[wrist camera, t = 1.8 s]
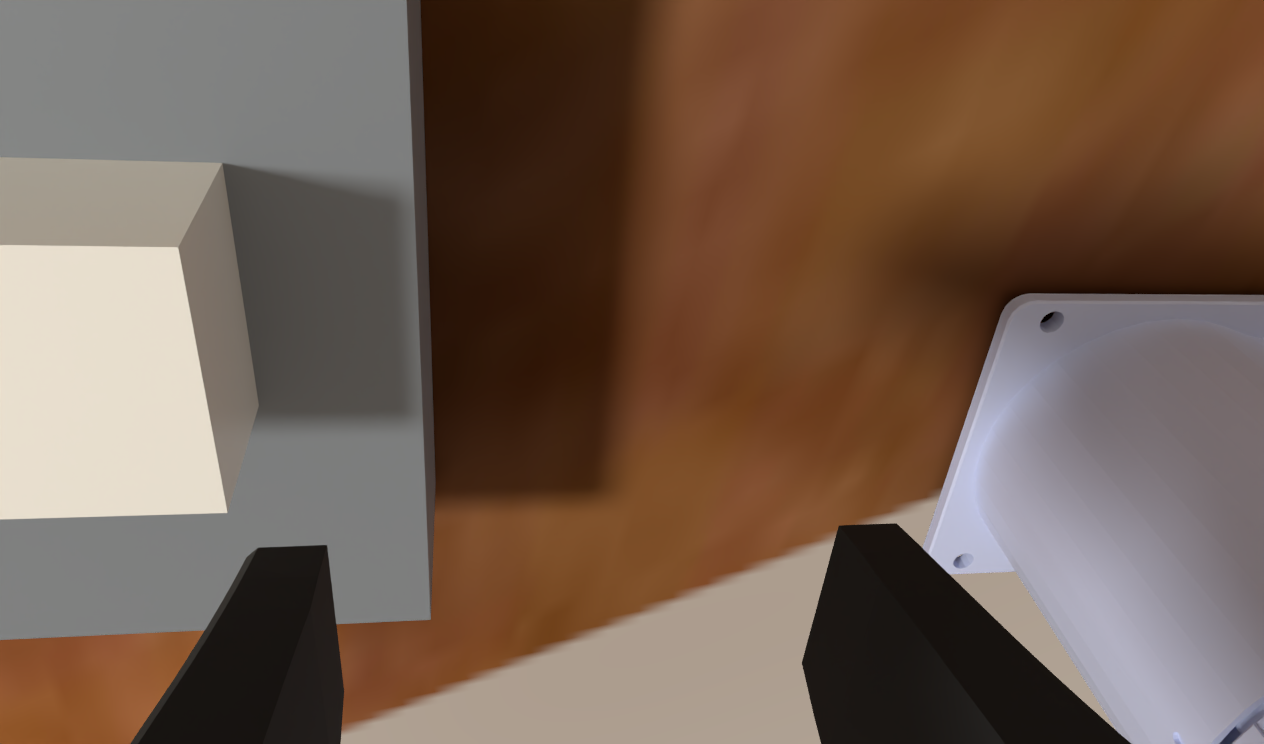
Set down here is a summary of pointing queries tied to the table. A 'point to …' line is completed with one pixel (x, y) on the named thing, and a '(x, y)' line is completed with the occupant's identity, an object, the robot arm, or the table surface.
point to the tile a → (120, 340)
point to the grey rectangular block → (255, 292)
